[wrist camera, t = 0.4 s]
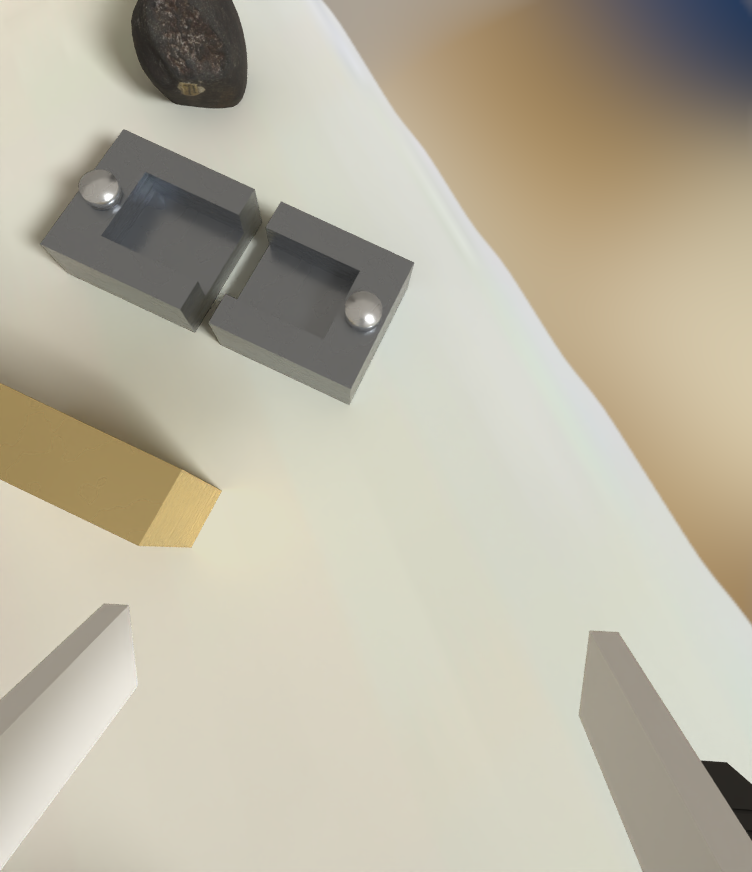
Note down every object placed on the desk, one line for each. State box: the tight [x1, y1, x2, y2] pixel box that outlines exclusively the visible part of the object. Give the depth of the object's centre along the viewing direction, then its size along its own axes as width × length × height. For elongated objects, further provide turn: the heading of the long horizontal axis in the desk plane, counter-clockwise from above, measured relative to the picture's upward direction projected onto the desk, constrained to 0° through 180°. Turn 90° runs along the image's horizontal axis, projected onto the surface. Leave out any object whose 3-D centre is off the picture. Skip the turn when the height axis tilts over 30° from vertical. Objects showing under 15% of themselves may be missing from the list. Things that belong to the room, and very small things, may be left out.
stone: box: [131, 0, 247, 108], centre depth 36 cm, size 8×7×10 cm
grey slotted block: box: [40, 129, 414, 405], centre depth 35 cm, size 10×22×4 cm, turn 65°
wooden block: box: [0, 383, 222, 547], centre depth 29 cm, size 4×12×9 cm, turn 65°
